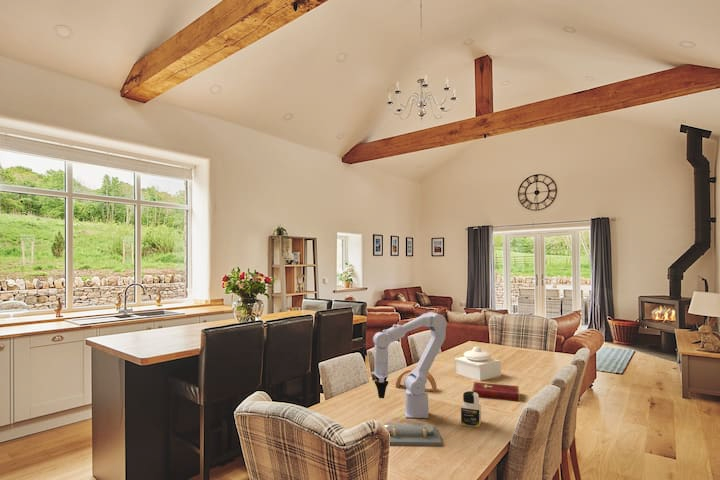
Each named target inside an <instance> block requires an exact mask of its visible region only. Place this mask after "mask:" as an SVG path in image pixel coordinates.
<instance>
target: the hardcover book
mask: <svg viewBox="0 0 720 480" xmlns="http://www.w3.org/2000/svg"><path fill="white" fill-rule="evenodd" d="M519 387H520V386H519V385H510V384H509V385H508V384H499V383H498V384H497V383H488V382H480V381H474V382H473V385H472V392H475V393H477V394H478V395H479V398H485V399H494V400H503V401H504V400H505V401H513V402H514V401H515V402H520V388H519Z"/></svg>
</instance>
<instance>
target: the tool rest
mask: <svg viewBox="0 0 720 480" xmlns="http://www.w3.org/2000/svg"><path fill="white" fill-rule="evenodd" d="M433 428H434V435H432V436H426V429H423V436H417V435H396V428H393V435H390V445H389V446H426V447H427V446H429V447H430V446H433V447H442V446H443V445H442V444H443V442H442V439H441V436H440V434H439V430H438V428H437V426H434V425H433Z"/></svg>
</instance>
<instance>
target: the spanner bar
mask: <svg viewBox="0 0 720 480" xmlns="http://www.w3.org/2000/svg"><path fill="white" fill-rule="evenodd" d="M383 426H385V427H386V429H387V430H388V431H389V433H390V435H393V428H396V435H417V436H423V429H426V436H432V435H434V428H433V426H434V424H431V423H429V422H405V421H402V422H398V421H397V422H396V421H394V422H393V421H389V422H387V423H386V422H385V423H384V424H383Z"/></svg>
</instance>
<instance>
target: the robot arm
mask: <svg viewBox="0 0 720 480" xmlns="http://www.w3.org/2000/svg"><path fill="white" fill-rule="evenodd" d="M447 325H448V322H447V320H446V318H445V316H444V315H443V314H440V313H436V312H434V311H427V312H426V313H422V314H421V315H419V316H418V317H415V318H414V319H412V320H410V321H409V322H406V323H404V324H402V325H401V324H396V323H394V324H392V327H389V328H387V329H383V330H382V331H378V332H376V333H374V335H373V337H372V342H373V344H374V352H373V353H374V356H373V357H374V371H371V375H373V376H374V377H375V380H374V384H375V386H376V390H377V394H378V395H377V396H378V399H385V395H386V390H387V387H388V385H389V380H387V379H388V377H389V346H390V344H391V343H394V342H396V341H398V340H401V339H402V338H404V337H405V335H406V333H408V332H410V331H413V330H416V329H419V328H420V327H427V328H428V329H429V330H430V334H431V336H430V337H431V338H430V339H429V341H428V343H427V345H426V347H425V348H424V350H423V352H422V354H421V357H420V359H419V360H418V362H417V364H416V366H415V367H416V368H415V369H413V370H412V371H411V372H409V373H408V375H406V376H405V377H404V381H403V386H404V387H405V388H406V390H405V409H404V415H405V418H406V419H407V418H410V419H425V418H426V419H429V411H430V410H429V395H428V393H426V392H425V390H426V385H427V383H428V379H427V373H428V372H430V369H431V367H432V365H433V364H434V361H435V359H436V357H437V355H438V354H439V351H440V349H441V348H442V345H443V344H444V342H445V341H446V336H447V335H446V334H447V332H446V331H447ZM424 392H425V393H424Z"/></svg>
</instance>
